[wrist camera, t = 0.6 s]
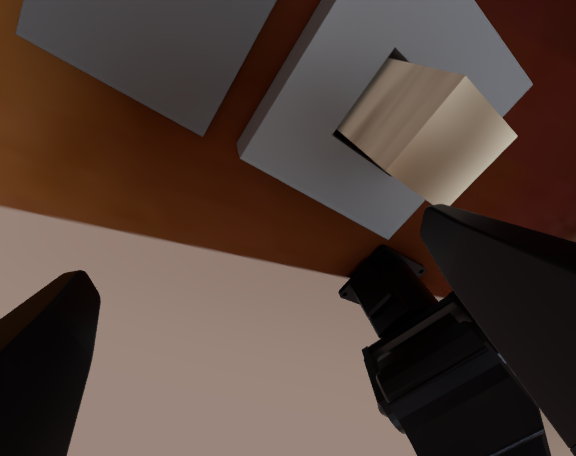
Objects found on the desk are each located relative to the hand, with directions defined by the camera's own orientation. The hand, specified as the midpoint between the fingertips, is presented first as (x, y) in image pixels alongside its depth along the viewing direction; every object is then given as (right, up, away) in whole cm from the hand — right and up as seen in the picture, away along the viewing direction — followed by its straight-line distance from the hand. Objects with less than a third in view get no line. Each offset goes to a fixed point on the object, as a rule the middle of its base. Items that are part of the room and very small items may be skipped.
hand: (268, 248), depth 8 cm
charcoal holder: (+6, +8, +12) cm, 16 cm away
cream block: (+6, +8, +12) cm, 16 cm away
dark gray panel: (-6, +11, +7) cm, 14 cm away
